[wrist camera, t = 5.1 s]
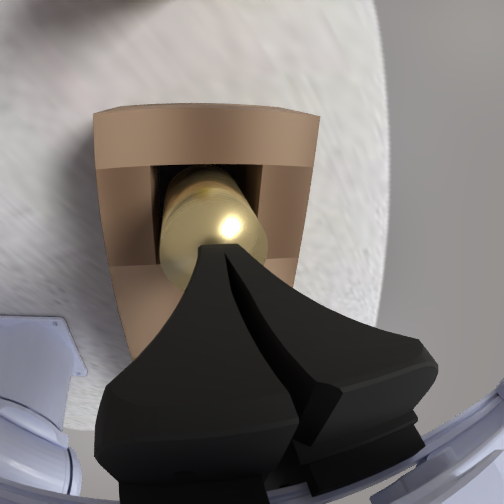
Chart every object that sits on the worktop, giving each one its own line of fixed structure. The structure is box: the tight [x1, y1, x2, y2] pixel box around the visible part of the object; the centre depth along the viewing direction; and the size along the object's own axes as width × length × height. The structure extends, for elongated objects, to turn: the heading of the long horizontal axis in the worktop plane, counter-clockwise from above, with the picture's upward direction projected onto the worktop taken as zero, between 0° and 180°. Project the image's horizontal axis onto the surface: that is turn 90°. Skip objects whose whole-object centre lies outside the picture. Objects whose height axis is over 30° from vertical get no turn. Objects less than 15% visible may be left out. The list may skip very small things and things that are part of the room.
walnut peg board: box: [93, 103, 320, 361], centre depth 19 cm, size 10×22×6 cm, turn 175°
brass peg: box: [160, 164, 268, 292], centre depth 13 cm, size 4×4×6 cm
